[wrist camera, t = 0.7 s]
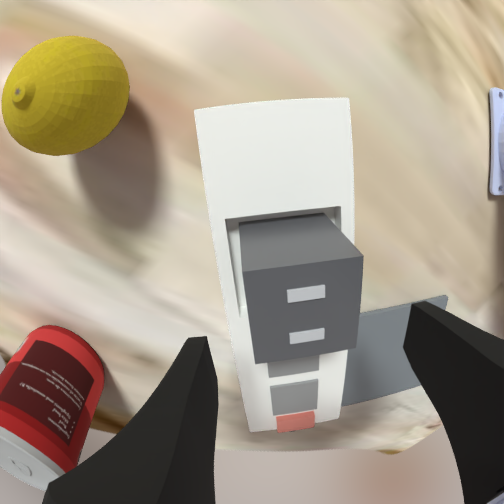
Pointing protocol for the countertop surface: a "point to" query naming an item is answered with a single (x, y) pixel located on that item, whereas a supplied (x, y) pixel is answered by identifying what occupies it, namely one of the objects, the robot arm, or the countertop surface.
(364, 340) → the mat
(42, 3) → the countertop surface
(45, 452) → the canned food
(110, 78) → the lemon
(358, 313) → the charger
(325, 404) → the strip
